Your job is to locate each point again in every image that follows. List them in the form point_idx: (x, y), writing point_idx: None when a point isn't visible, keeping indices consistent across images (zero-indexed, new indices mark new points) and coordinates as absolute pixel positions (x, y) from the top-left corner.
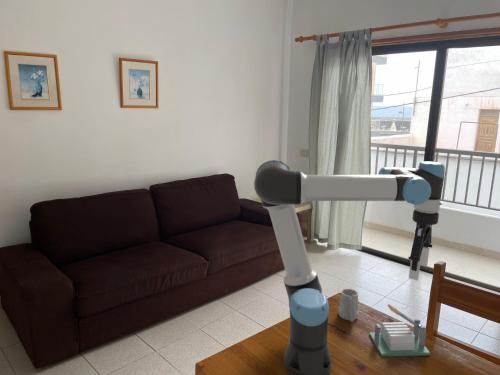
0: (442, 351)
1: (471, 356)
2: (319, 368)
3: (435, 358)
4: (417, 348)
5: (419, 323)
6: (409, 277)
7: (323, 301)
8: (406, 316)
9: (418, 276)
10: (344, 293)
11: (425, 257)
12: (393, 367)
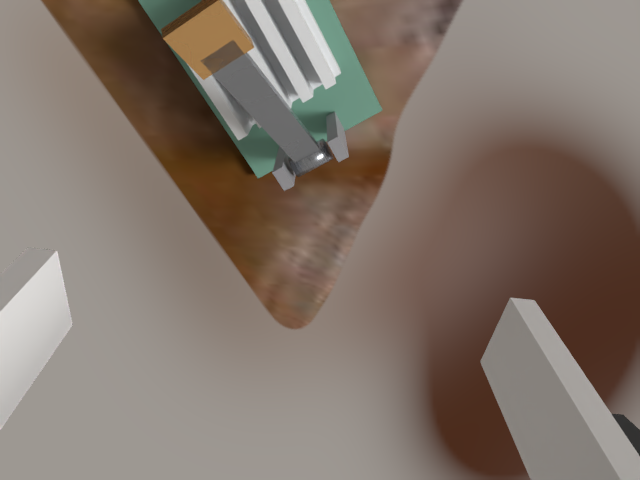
0: (306, 211)
1: (321, 285)
2: None
3: (251, 192)
4: (259, 135)
5: (321, 158)
6: (25, 260)
7: None
8: (277, 108)
9: (49, 352)
10: None
11: (530, 432)
12: (102, 57)
